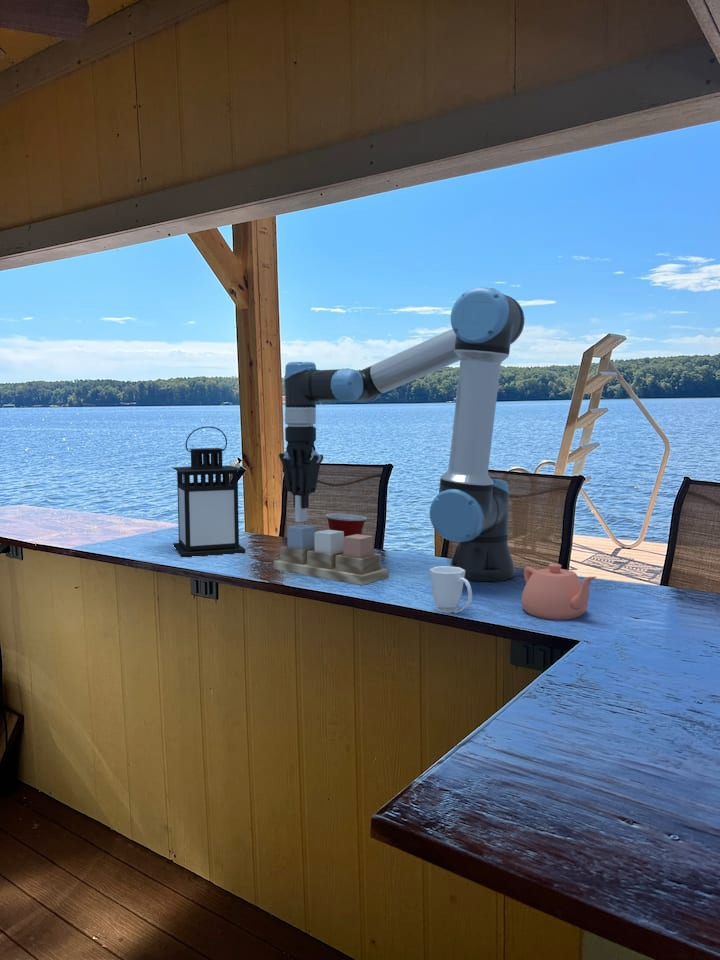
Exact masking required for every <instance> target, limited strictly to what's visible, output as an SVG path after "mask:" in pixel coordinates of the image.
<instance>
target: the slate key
mask: <svg viewBox="0 0 720 960" xmlns="http://www.w3.org/2000/svg"><path fill="white" fill-rule="evenodd" d="M286 529H287V530H286V531H287V534H286V535H287V536H286V537H287V539H286V541H287V546H288V548H294V549H301V550H304V549H308V548H313V547H315V538H314V532H317V526H315V525H306V524H297V525H291V526H287V527H286Z"/></svg>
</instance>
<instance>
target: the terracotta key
mask: <svg viewBox="0 0 720 960" xmlns="http://www.w3.org/2000/svg"><path fill="white" fill-rule="evenodd" d="M373 553H374V535H367V534H366V535H365V534H361V535H360V534H355V535H350V536H345V537H343V556H347V557H353V558H360V559H361V558H365V557H369V556H373V555H374V554H375V553H374V554H373Z"/></svg>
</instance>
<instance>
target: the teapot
mask: <svg viewBox="0 0 720 960" xmlns="http://www.w3.org/2000/svg"><path fill="white" fill-rule="evenodd" d="M523 576H524V580H525V586H524V588H523V589H522V594H521V601H520V602H521V606H522V607H523V609H524V610H525V612H526V613H527V614H529V615H531V616H534V617H536V618H539V619H545V620H553V619H556V620H555V621H557V620H560V619H564V620H572V619H571V618H573V619H576V617H577V618H579V617H581V616H582V615H583V614H584V613H585V612H586V610H587V609H588V607H589V603H588V601H589V598H590V587H591V583H592V582H593V581H594V580H595V579H596V578H597V576H586V577H584V578H583V579H582V581H581V580H580V578H579V576H578V574H577V573H576V572H575V571H573V570H568V569H564V568H562V565H561V564H560V563H549V564H548V568H539V569H536V568H534V567H532V566H526V567H524V569H523ZM578 616H579V617H578ZM560 621H561V620H560Z"/></svg>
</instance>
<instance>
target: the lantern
mask: <svg viewBox="0 0 720 960" xmlns="http://www.w3.org/2000/svg"><path fill="white" fill-rule="evenodd" d="M207 428H208V429H214V430H215V429H216V430H218V431H219V432H220V433H222V435H223V438H224V440H225V446H224V447H223V448H220V447H209V448H208V447H205V448H202V447H201V448H199V447H198V448H188V440H189V439H190V437H191V436H192V434H193V433H195V432H196V431H199V430H201V429H207ZM227 446H228V439H227V436H226V435H225V433H224V432H223V430H221V429H220V428H217V427H215V426H202V427H198V428H196V429H194V430H193V431H191V432H190V433H189V434H188V436H187V437H186V441H185V449H186V451H187V452H189V453H190V466H176V467H175V466H173V467H170V468H171V469H173V470H175V471H176V478H177V479H176V480H177V482H176V483H177V484H176V486H177V487H176V488H177V518H178V519H177V522H178V524H177V525H178V526H177V527H178V542H173V543H172V546H173V545H174V547H175V548H176V550H177V551H178V553H179V554H180V555H179V554H178V553H177V554H178V555H179V556H180V557H188V558H193V557H192V556H201V557H209V556H208V555H215V556H224V555H223V554H229V555H235V554H234V553H242V554H246V548H245V547H243V546H241V544H240V533H239V532H240V531H239V530H240V528H239V521H240V520H239V479H238V477H239V473H238V472H239V471H244V469H243V468H239V467H236V466H234V465H223V452H224V451H225V450H226V448H227ZM190 476H192V477H193V479H192V480H193V482H191V477H190ZM199 476H200V481H199ZM206 476H207V478H206ZM214 476H215V477H214ZM206 479H207V480H206ZM214 479H215V480H214ZM176 550H175V551H176ZM177 551H176V552H177Z"/></svg>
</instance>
